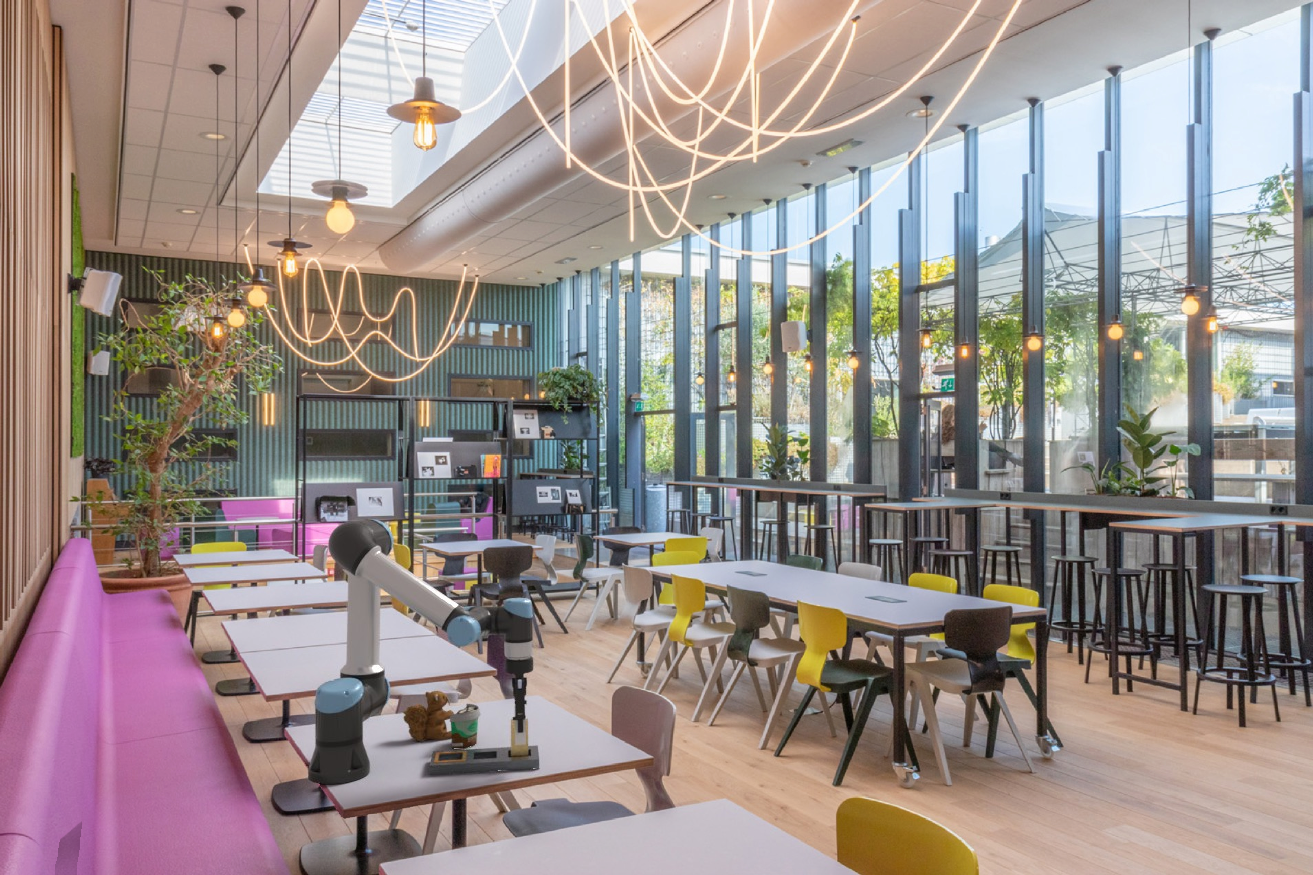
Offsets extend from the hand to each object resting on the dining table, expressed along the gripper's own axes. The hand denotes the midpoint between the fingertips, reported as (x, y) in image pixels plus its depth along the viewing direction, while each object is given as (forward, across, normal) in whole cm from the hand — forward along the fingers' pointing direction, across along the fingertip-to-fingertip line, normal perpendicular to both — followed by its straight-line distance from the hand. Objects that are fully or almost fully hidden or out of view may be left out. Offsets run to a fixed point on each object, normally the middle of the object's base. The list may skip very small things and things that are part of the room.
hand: (520, 736), depth 249 cm
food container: (+7, +19, +14) cm, 25 cm away
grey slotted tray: (+7, 0, +9) cm, 11 cm away
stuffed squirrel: (+7, +28, +26) cm, 39 cm away
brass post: (+7, 0, 0) cm, 7 cm away
